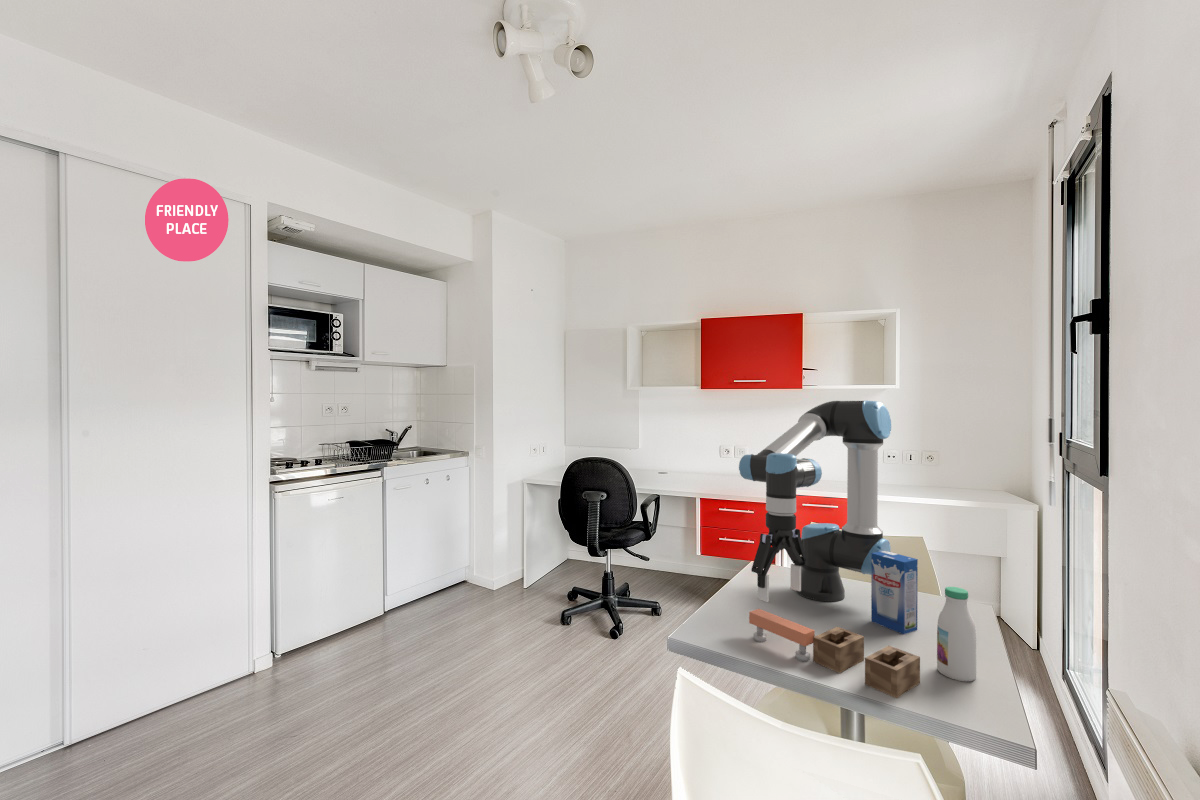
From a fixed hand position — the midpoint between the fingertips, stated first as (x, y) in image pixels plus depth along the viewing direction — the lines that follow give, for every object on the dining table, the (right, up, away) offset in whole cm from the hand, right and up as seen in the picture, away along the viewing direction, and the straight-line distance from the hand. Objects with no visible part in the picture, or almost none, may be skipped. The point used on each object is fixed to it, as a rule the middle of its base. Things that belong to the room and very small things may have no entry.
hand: (779, 594), depth 138 cm
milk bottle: (+37, -14, -13) cm, 42 cm away
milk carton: (+38, -14, +15) cm, 43 cm away
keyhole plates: (+16, -14, -12) cm, 24 cm away
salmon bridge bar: (0, -14, 0) cm, 14 cm away
